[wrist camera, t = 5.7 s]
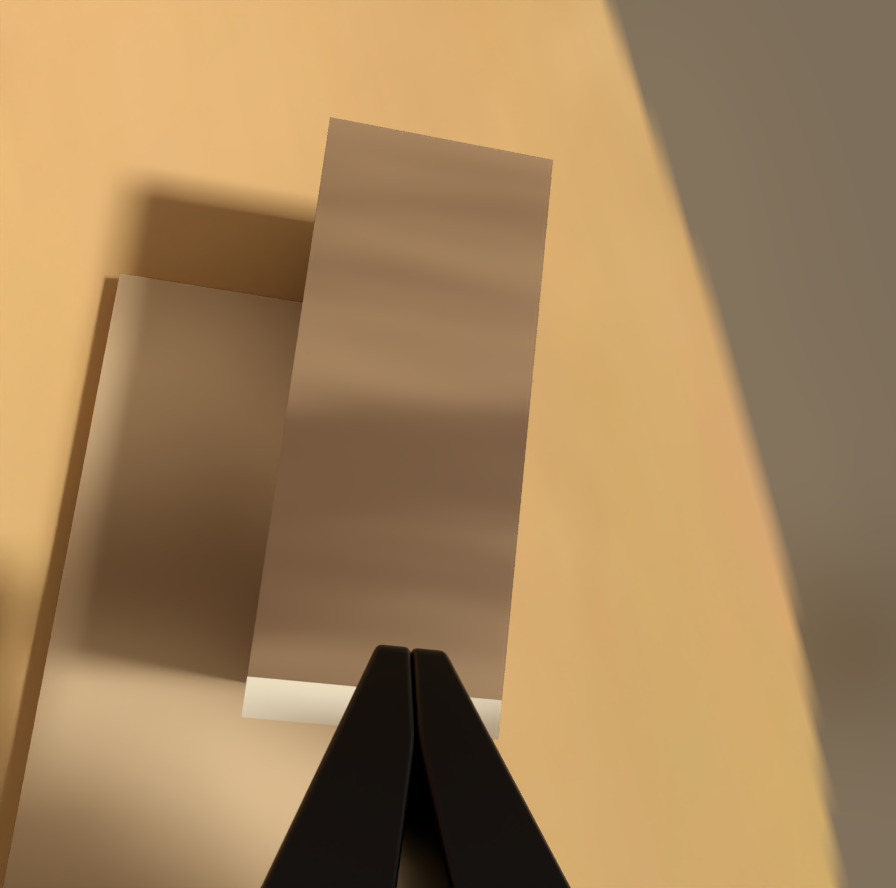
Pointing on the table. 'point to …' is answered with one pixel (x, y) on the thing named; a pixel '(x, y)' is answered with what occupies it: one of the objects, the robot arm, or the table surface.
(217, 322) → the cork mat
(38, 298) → the table surface
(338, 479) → the walnut block
